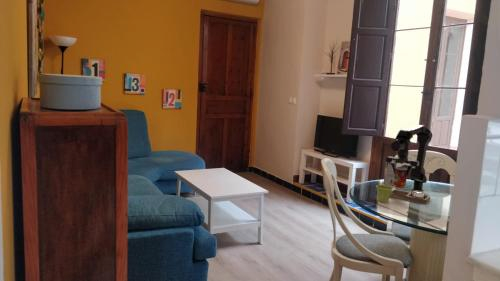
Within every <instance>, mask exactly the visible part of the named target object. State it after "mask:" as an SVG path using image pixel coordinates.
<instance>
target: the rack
mask: <svg viewBox="0 0 500 281" xmlns="http://www.w3.org/2000/svg"><path fill="white" fill-rule="evenodd" d="M412 194H413V191H412V192H411V191H405V190H402V189H401V190H400V189H396V188H395V189H394V188H393V189H392V191H391V194H390V198H394V199H398V200H399V199H400V200H403V201H408V202H414V203H418V204H423V205H426V204H427V203H428V202H430V200H431V195H427V194H424V199H421V198H416V197H412Z"/></svg>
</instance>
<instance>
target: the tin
mask: <svg viewBox="0 0 500 281" xmlns="http://www.w3.org/2000/svg"><path fill="white" fill-rule="evenodd" d="M412 193H413V194H412V197H416V198H421V199H424V195H425V192H424V191H413V190H412Z"/></svg>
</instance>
